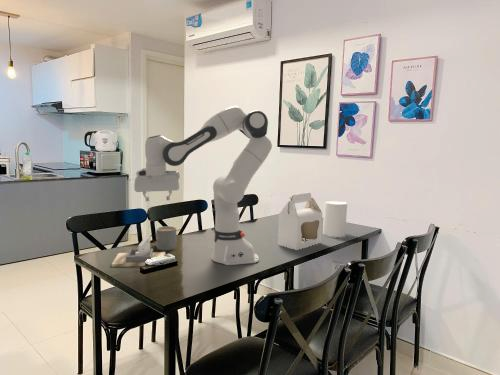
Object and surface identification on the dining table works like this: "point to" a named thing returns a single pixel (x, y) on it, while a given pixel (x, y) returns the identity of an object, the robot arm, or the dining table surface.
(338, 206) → the canister
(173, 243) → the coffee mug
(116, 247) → the dining table surface
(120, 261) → the mounting board
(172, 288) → the dining table surface
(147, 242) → the white wedge bracket
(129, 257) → the back box
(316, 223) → the gable box
